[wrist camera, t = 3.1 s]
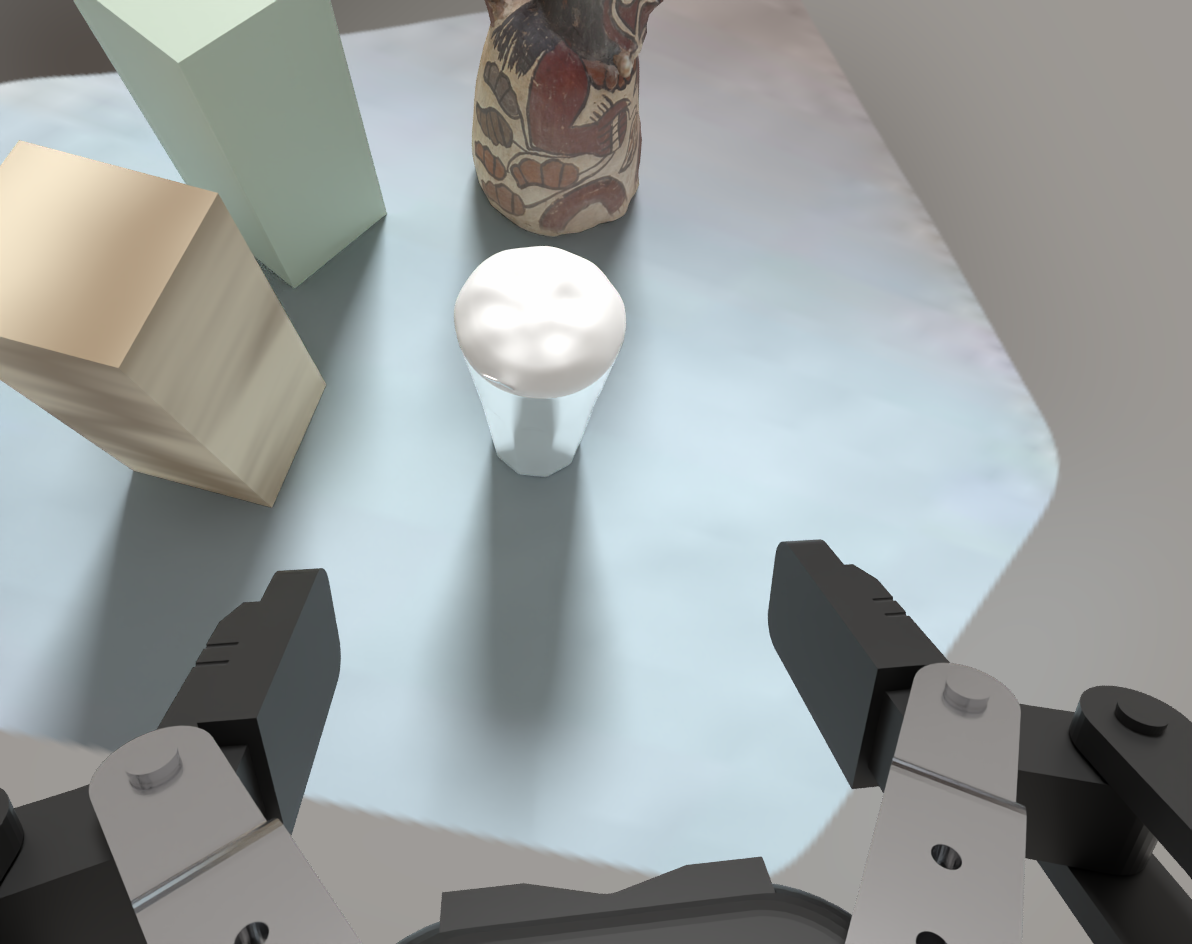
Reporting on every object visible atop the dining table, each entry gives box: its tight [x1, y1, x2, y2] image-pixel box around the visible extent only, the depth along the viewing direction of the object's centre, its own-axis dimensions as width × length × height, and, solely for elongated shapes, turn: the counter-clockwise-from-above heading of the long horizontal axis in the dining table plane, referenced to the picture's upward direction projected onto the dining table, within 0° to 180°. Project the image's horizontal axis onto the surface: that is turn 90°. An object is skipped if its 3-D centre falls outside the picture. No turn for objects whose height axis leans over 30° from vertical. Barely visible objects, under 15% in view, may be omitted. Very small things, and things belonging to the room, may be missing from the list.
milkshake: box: [454, 246, 626, 477], centre depth 22 cm, size 4×5×10 cm
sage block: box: [73, 0, 387, 289], centre depth 24 cm, size 5×5×10 cm
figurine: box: [472, 0, 663, 237], centre depth 26 cm, size 7×7×12 cm
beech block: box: [0, 140, 326, 508], centre depth 21 cm, size 5×5×10 cm
